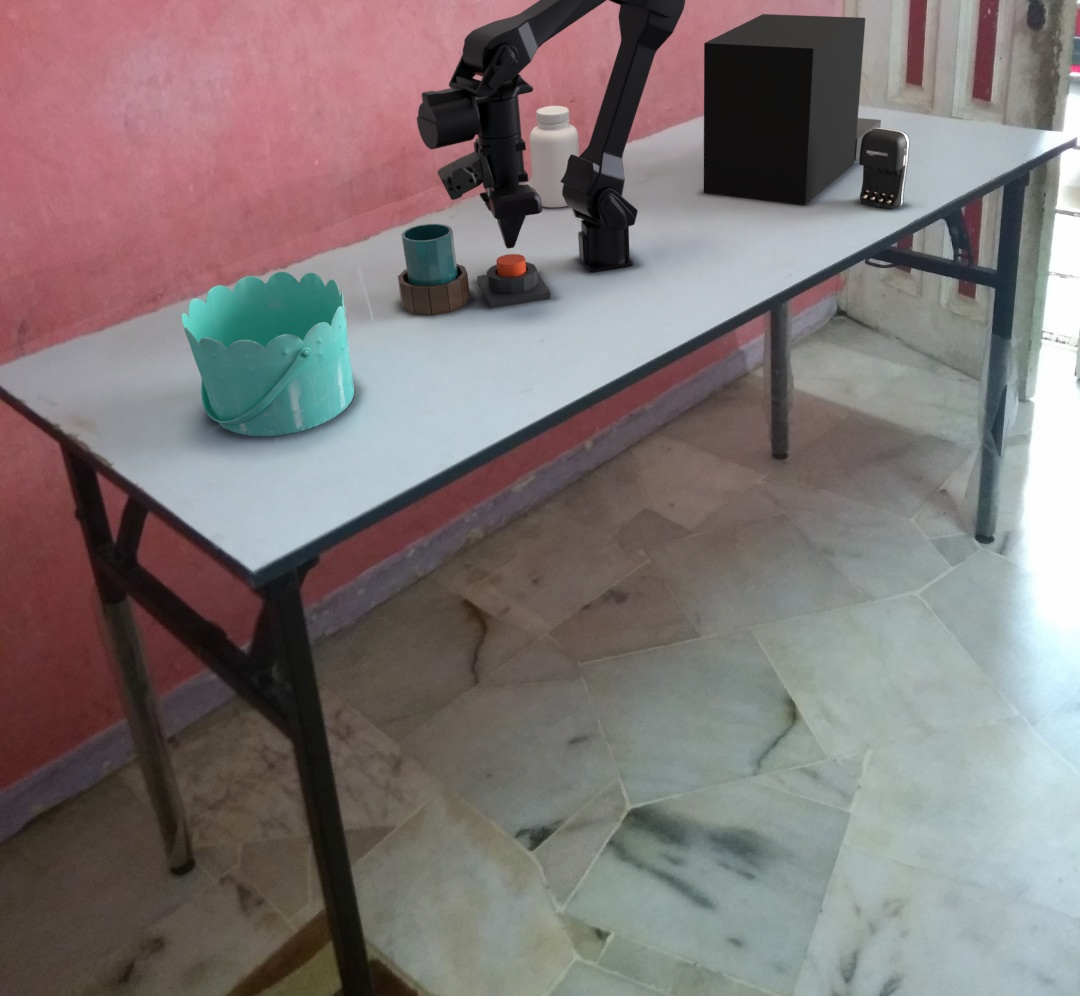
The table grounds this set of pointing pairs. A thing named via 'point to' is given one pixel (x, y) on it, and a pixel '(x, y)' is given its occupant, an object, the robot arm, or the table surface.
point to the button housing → (513, 287)
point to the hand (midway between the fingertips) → (509, 247)
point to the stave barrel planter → (435, 295)
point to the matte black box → (783, 106)
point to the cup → (429, 254)
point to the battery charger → (884, 167)
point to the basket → (272, 353)
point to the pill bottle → (552, 153)
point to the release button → (511, 265)
